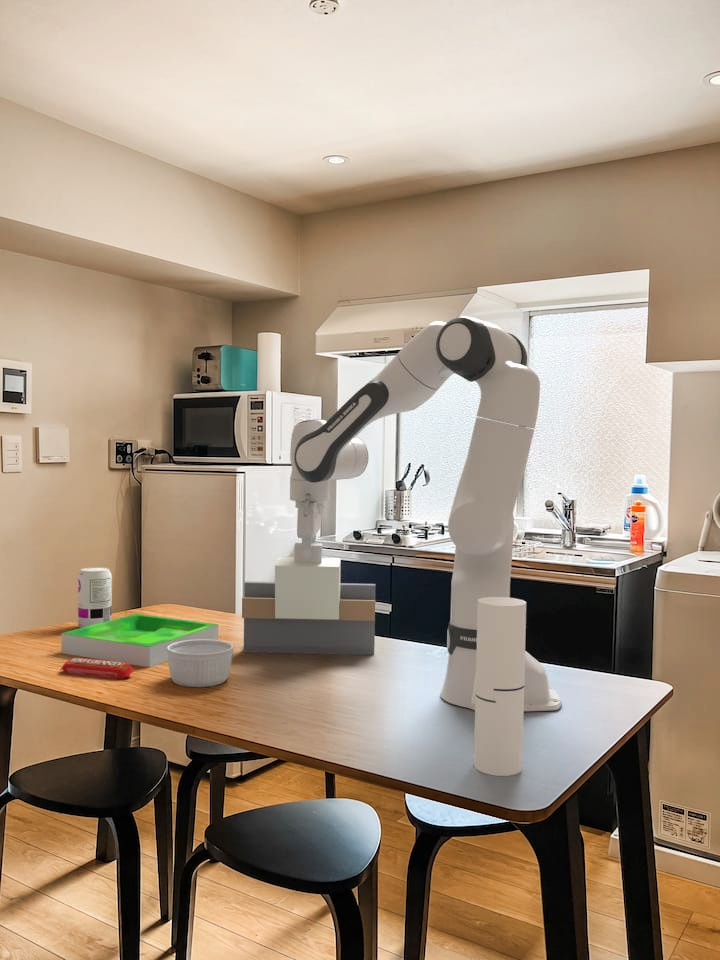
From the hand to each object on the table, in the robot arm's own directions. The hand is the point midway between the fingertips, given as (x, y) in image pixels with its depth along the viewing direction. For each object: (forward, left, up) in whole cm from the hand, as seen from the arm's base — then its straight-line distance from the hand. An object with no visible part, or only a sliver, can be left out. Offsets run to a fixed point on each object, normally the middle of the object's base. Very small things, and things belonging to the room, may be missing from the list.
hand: (308, 554), depth 186 cm
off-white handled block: (0, 0, -13) cm, 13 cm away
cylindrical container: (-34, +61, -24) cm, 74 cm away
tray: (+39, -6, -24) cm, 46 cm away
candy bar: (+42, +17, -24) cm, 51 cm away
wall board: (0, -5, -23) cm, 24 cm away
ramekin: (+20, +19, -24) cm, 36 cm away
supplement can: (+57, -26, -24) cm, 67 cm away
